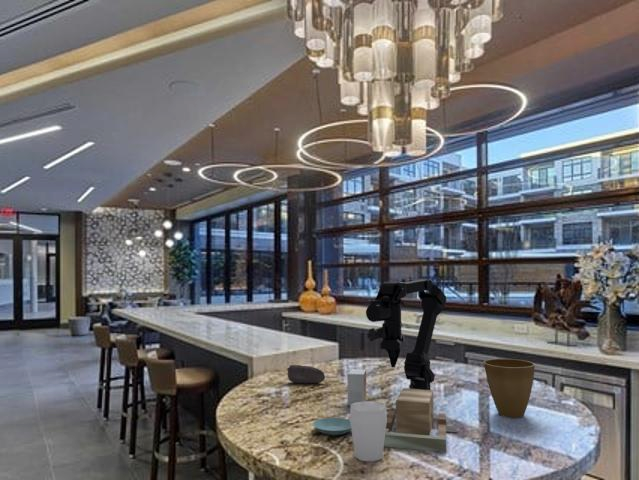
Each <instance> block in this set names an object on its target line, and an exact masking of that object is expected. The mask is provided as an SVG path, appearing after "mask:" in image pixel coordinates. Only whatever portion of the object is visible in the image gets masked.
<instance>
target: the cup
mask: <svg viewBox="0 0 639 480" xmlns="http://www.w3.org/2000/svg"><path fill="white" fill-rule="evenodd" d="M349 408H350V411H349V420H350V423H351V430H350V431H351V435H352V436H351V437H352V444H353V450H354V451H353V452H354V456H355V458H356V459H357V460H360V461H362V462H363V461H364V462H369V463H370V462H371V463H372V462H377V461H380V460H381V459H382V458H383V454H384V440H385V432H386V423H387V406H386V404H384V403H381V402H378V401H377V402H376V401H372V400H371V401H367V400H366V401H363V402H356V403H353V404H351V406H350V407H349Z"/></svg>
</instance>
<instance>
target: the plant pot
mask: <svg viewBox="0 0 639 480" xmlns="http://www.w3.org/2000/svg"><path fill="white" fill-rule="evenodd" d="M483 365H484V370H485V375H486V380H487V381H486V382H487V385H488V388H489V390H490V391H489V392H490V394H491V397H492V400H493V403H494V406H495V408H496V411H497V412H498V413H497V414H498V415H500V416H502V417H505V418H510V419H511V418H512V419H513V418H514V419H515V418H516V419H518V418H523V417H524V416H525V413H526V411H527V407H528V405H529V401H530V398H531V394H532V388H533V383H534V377H535V367H536V364H535V363H534V362H532V361H528V360H523V359H517V358H516V359H515V358H514V359H513V358H492V359H490V358H489V359H486V360H484V361H483Z"/></svg>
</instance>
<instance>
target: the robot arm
mask: <svg viewBox="0 0 639 480" xmlns="http://www.w3.org/2000/svg"><path fill="white" fill-rule="evenodd" d="M412 293H418V294H417V297H418V298H419V299H420V301H421V302H420V305H421V309H422V313H423V314H422V318H421V321H420V325H419V328H418V333H417V336H416V341H415V345H414V347H413V348H414V349H413V350H411V352H407V353H406V356H405V360H404V361H403V369H404V373H405V374H404V375H405V379H406V380H409V382H410V384H409V385H408V389H421V390H431V383H433V382H435V376H436V375H435V373H434V372H433V370H432V369H431V361H430V356H429V350H430V346H431V342H432V338H433V335H434V330H435V326H436V321H437V318H438V316H439V315H440V314H441V313H442V312H443V311H444V308H445V305H446V303H447V297H446V294H445V292H443V290H442V289H441V288H440V287H438V286H437V285H435V284H434V283H433V282H432V280H430V279H428V278H418V279H416V280H415V279H414V280H411V281H410V280H409V281H404V282H401V281H384V282H382V283H381V286H380V287H379V290H378V292H377V294H376V296H375V299H374V300H373V299H372V300H370V304H369V305H368V306H367V308H366V310H365V316H366V318H367V320H368V321H370V322H372V323H376V322H382V324H381V327H377V328H375V327H372V328H369V329H368V331H367V332H366V335H367V336H366V337H367V338H368V341H369V342H371V343H372V342H374V341H375V340H378V339H382V340H381V341H380V342H379V346H380V347H379V348H380V350H385V351H386V352H387V355H388V358H389V363H390V367H391V368H395V367H396V365H397V363H398V359H399V356H400V355H401V351H402V349H403V344H402V343H404V342H405V335H404V334H403V332H402V326H403V322H402V306H405V302H404V301H403V300H402V299H404V298H405V297H406V296H407V295H409V294H412Z"/></svg>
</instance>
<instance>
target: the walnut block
mask: <svg viewBox="0 0 639 480" xmlns="http://www.w3.org/2000/svg"><path fill="white" fill-rule="evenodd" d="M395 407H396V408H395V416H396V417H395V421H396V422H395V425H396V428H395V429H396V431H395V433H403V434H416V435H428V436H431V432H432V428H433V424H434V420H435V419H434V390H433V389H432V390H431V389H430V390H421V389H409V388H404V387H403V388H402V389H401V391H400V393H399V394H398V396H397V398H396V400H395Z"/></svg>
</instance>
